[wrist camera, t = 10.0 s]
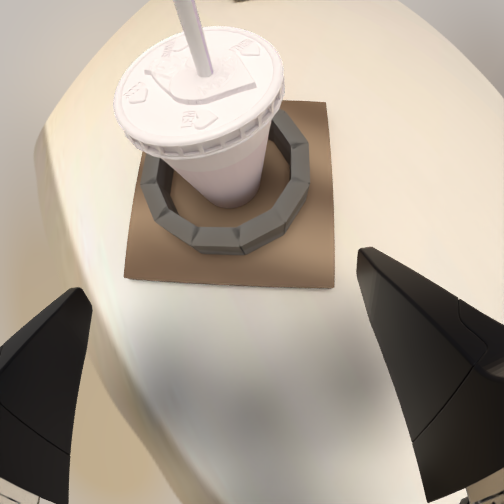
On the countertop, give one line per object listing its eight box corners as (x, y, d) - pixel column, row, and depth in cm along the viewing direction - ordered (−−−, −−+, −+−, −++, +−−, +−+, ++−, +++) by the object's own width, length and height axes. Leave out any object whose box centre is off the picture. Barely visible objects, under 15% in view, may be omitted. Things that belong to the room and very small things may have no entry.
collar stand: (331, 288, 18) (344, 283, 14) (130, 279, 19) (103, 272, 15) (324, 110, 20) (330, 80, 16) (157, 115, 21) (141, 88, 18)
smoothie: (256, 246, 17) (200, 54, 4) (164, 208, 18) (13, 56, 5) (296, 156, 18) (316, -54, 5) (209, 128, 19) (143, -52, 5)
